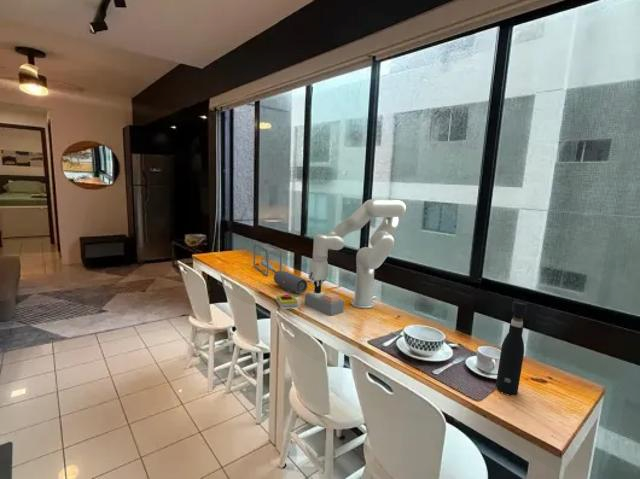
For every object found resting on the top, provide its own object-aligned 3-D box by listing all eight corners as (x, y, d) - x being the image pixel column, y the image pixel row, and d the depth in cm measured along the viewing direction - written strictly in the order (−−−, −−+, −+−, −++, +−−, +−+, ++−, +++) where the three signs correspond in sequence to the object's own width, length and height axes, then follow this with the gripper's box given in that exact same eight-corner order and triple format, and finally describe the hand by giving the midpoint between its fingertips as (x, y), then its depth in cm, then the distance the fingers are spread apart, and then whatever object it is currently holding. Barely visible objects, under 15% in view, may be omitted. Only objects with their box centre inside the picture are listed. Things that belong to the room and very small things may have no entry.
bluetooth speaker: (272, 286, 211) (273, 270, 209) (284, 284, 217) (285, 268, 216) (294, 296, 194) (295, 279, 193) (307, 294, 200) (308, 277, 199)
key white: (317, 299, 186) (317, 290, 185) (325, 302, 181) (325, 293, 181) (309, 301, 182) (309, 292, 181) (316, 304, 177) (317, 295, 177)
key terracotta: (330, 301, 178) (331, 292, 178) (339, 305, 174) (339, 295, 173) (322, 304, 174) (323, 294, 174) (330, 307, 170) (331, 297, 169)
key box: (317, 301, 188) (317, 290, 187) (343, 312, 175) (344, 300, 174) (304, 304, 182) (305, 293, 181) (330, 316, 168) (331, 304, 167)
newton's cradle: (253, 266, 257) (253, 243, 255) (266, 265, 262) (267, 242, 260) (266, 276, 231) (267, 250, 229) (281, 275, 236) (282, 250, 234)
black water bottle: (510, 384, 117) (523, 299, 112) (521, 396, 110) (536, 306, 106) (491, 384, 117) (504, 298, 112) (502, 395, 110) (516, 305, 106)
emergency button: (292, 291, 190) (299, 300, 176) (291, 299, 191) (299, 308, 177) (275, 292, 187) (281, 301, 173) (275, 300, 188) (281, 309, 174)
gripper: (325, 255, 186) (322, 288, 189) (304, 258, 175) (302, 293, 178) (335, 258, 181) (332, 292, 183) (314, 261, 170) (311, 297, 173)
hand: (317, 292), depth 181 cm, fingers closed
